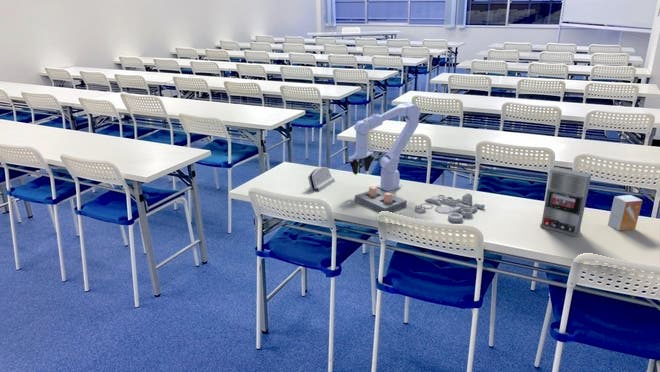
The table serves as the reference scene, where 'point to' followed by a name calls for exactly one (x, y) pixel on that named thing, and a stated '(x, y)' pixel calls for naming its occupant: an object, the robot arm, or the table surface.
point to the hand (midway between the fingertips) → (361, 172)
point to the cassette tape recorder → (565, 200)
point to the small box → (625, 212)
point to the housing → (380, 201)
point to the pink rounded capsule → (372, 192)
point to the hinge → (320, 178)
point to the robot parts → (454, 214)
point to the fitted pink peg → (388, 198)
